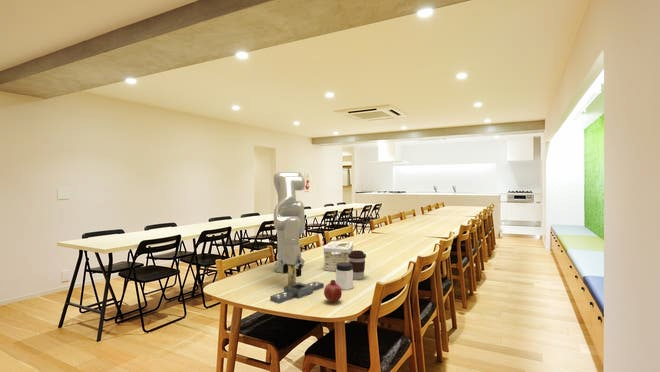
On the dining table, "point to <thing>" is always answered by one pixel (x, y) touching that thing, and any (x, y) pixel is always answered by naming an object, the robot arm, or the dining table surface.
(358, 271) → the coffee cup
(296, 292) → the grey socket base
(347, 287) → the jar
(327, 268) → the storage basket
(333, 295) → the fruit
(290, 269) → the pin
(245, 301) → the dining table surface
